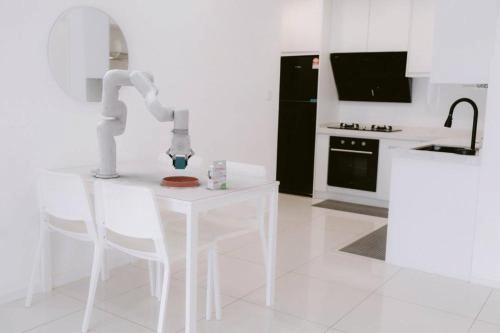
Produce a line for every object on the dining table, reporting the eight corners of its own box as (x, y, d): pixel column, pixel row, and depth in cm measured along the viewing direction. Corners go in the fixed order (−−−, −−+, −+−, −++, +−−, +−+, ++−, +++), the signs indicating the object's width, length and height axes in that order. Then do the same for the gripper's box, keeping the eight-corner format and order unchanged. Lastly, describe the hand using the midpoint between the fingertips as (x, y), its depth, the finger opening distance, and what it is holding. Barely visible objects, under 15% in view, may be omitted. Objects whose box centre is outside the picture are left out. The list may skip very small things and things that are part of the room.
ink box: (220, 186, 244) (221, 158, 241) (226, 188, 240) (227, 159, 238) (206, 188, 238) (207, 159, 236) (212, 190, 234) (213, 160, 232)
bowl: (161, 188, 235) (161, 182, 234) (162, 181, 254) (162, 175, 253) (199, 188, 238) (200, 182, 238) (197, 181, 257) (198, 176, 256)
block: (175, 169, 242) (175, 157, 241) (175, 167, 247) (175, 156, 246) (184, 169, 243) (185, 157, 242) (184, 167, 248) (184, 156, 247)
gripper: (163, 132, 237) (163, 168, 240) (197, 133, 240) (196, 168, 242) (164, 131, 244) (163, 165, 247) (197, 132, 247) (196, 166, 250)
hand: (179, 166), depth 245 cm, fingers closed on block, 5 cm apart
